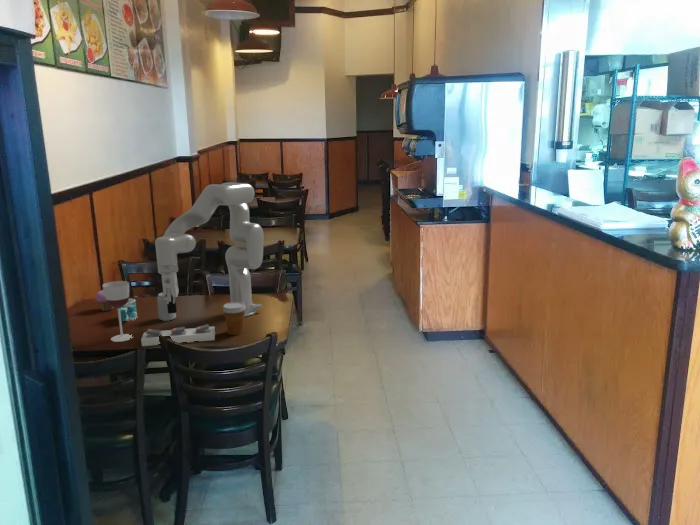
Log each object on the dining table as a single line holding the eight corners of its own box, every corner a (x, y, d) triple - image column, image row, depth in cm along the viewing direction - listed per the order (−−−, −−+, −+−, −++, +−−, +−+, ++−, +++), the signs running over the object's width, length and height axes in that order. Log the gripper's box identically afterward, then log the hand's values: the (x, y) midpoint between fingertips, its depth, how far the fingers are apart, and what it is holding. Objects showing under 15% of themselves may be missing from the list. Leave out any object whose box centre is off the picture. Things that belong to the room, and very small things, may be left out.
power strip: (215, 333, 239) (214, 326, 238) (214, 340, 231) (213, 332, 231) (144, 339, 234) (144, 332, 233) (141, 346, 226) (141, 339, 225)
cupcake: (118, 310, 271) (116, 290, 269) (99, 314, 266) (96, 293, 264) (114, 305, 278) (112, 286, 276) (95, 309, 274) (92, 289, 271)
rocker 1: (160, 332, 231) (160, 330, 231) (159, 335, 228) (159, 332, 228) (147, 331, 230) (147, 328, 230) (146, 333, 227) (146, 331, 227)
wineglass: (113, 334, 240) (106, 281, 234) (137, 333, 241) (131, 280, 235) (106, 342, 231) (99, 287, 226) (131, 341, 232) (125, 286, 226)
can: (171, 322, 254) (168, 296, 251) (155, 321, 255) (153, 295, 252) (179, 316, 261) (177, 291, 258) (164, 315, 262) (161, 290, 259)
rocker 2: (209, 326, 234) (208, 323, 234) (208, 328, 231) (208, 326, 231) (197, 329, 234) (196, 327, 233) (196, 332, 231) (195, 329, 230)
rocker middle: (185, 328, 233) (184, 326, 232) (184, 331, 230) (184, 328, 229) (172, 330, 232) (172, 328, 231) (171, 333, 229) (171, 331, 228)
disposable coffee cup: (226, 337, 233) (224, 309, 231) (222, 330, 242) (220, 303, 239) (249, 334, 237) (248, 306, 234) (244, 327, 246) (242, 300, 243)
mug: (139, 315, 264) (137, 298, 262) (133, 324, 252) (131, 306, 250) (120, 316, 263) (118, 299, 261) (113, 325, 251) (111, 307, 249)
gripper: (176, 272, 218) (180, 317, 222) (179, 263, 232) (183, 306, 236) (155, 273, 216) (160, 319, 221) (160, 264, 231) (164, 307, 235)
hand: (172, 312), depth 229 cm, fingers closed
